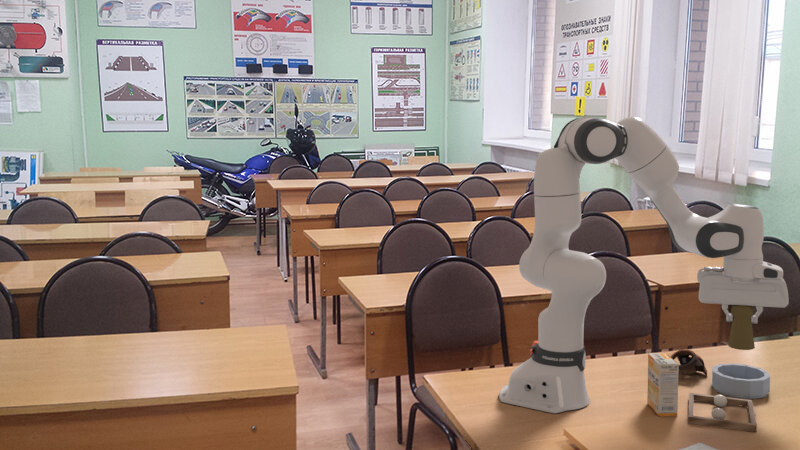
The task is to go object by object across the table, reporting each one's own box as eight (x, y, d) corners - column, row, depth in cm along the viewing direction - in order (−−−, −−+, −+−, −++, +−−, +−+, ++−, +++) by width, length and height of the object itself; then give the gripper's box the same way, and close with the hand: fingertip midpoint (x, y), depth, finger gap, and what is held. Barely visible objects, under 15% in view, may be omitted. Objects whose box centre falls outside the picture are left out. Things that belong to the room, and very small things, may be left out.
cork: (741, 351, 167) (742, 308, 165) (722, 344, 172) (723, 302, 171) (760, 347, 169) (761, 305, 167) (741, 341, 174) (741, 300, 173)
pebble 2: (711, 418, 155) (711, 405, 156) (711, 421, 157) (710, 408, 159) (726, 420, 154) (726, 407, 155) (725, 422, 156) (725, 409, 158)
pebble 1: (713, 408, 164) (713, 396, 163) (713, 403, 166) (713, 392, 166) (727, 409, 162) (727, 397, 162) (726, 405, 165) (727, 393, 165)
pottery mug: (715, 382, 182) (705, 359, 180) (682, 396, 184) (671, 373, 182) (698, 358, 193) (688, 336, 191) (667, 371, 195) (656, 349, 193)
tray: (688, 422, 155) (688, 416, 155) (689, 398, 170) (689, 392, 170) (756, 431, 150) (756, 425, 150) (751, 405, 164) (751, 400, 164)
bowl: (712, 395, 172) (713, 377, 171) (711, 378, 184) (712, 361, 183) (771, 402, 166) (772, 383, 166) (766, 384, 178) (767, 366, 178)
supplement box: (646, 403, 168) (647, 352, 166) (665, 403, 167) (666, 352, 166) (657, 417, 159) (658, 363, 158) (678, 416, 159) (679, 363, 158)
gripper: (697, 268, 170) (696, 322, 171) (790, 272, 161) (788, 328, 163) (697, 264, 175) (697, 315, 177) (787, 267, 167) (786, 321, 169)
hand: (741, 321), depth 170 cm, fingers closed on cork, 4 cm apart
